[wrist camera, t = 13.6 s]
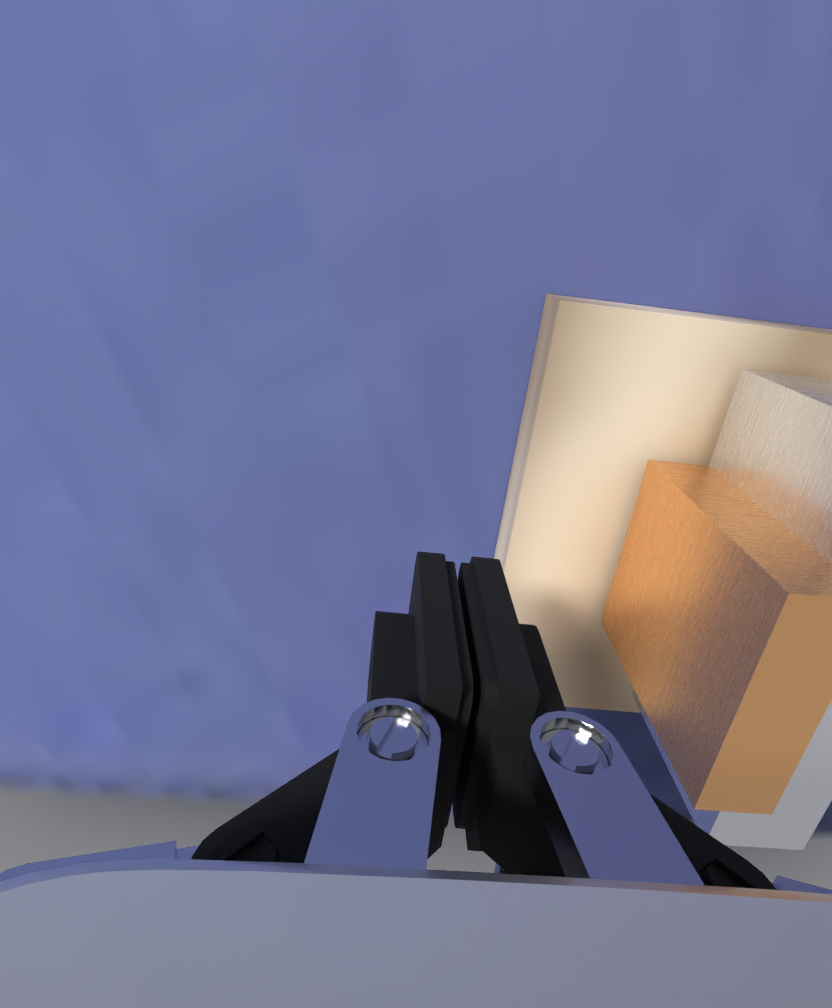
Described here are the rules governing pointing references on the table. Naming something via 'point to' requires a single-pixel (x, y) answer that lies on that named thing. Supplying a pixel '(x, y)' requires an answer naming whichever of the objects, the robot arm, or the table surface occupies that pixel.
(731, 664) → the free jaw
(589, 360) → the vise base
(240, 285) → the table surface
